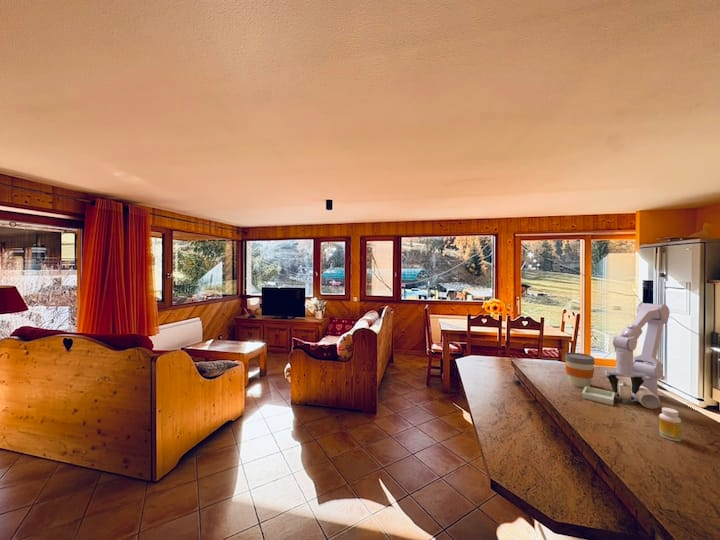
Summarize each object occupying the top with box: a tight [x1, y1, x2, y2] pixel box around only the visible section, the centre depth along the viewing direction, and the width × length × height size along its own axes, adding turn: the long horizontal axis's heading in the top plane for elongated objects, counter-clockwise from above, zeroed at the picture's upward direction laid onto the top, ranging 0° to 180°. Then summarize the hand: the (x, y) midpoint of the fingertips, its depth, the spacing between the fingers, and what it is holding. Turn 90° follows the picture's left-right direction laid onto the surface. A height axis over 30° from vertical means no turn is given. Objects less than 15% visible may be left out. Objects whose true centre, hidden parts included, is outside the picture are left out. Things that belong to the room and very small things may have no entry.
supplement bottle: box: [658, 407, 683, 442], centre depth 103 cm, size 5×5×10 cm
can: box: [631, 386, 661, 410], centre depth 129 cm, size 6×6×12 cm
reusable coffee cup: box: [564, 352, 595, 389], centre depth 151 cm, size 13×12×15 cm
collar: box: [614, 392, 639, 406], centre depth 132 cm, size 8×8×2 cm
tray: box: [581, 386, 616, 406], centre depth 135 cm, size 11×11×2 cm
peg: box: [618, 381, 632, 400], centre depth 132 cm, size 4×4×8 cm
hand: (624, 392), depth 132 cm, fingers open, 7 cm apart
